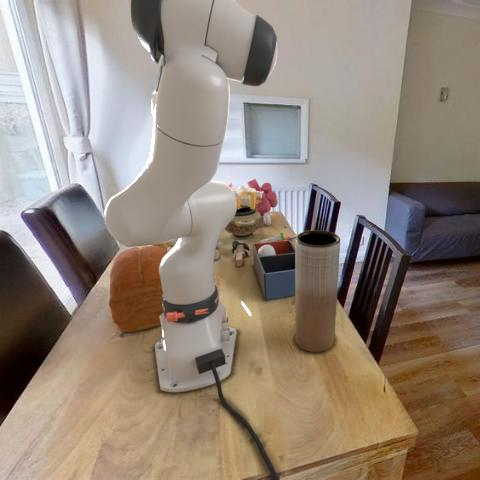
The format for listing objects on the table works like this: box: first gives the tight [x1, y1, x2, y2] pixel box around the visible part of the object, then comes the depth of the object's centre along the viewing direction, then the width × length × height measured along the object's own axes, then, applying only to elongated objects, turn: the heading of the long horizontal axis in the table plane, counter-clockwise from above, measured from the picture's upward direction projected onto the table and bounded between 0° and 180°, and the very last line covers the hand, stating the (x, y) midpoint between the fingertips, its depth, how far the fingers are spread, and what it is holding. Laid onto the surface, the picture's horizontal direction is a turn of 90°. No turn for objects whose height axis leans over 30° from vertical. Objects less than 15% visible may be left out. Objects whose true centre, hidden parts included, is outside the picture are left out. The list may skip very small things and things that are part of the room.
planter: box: [294, 229, 341, 353], centre depth 73 cm, size 10×10×28 cm
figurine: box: [152, 238, 179, 253], centre depth 132 cm, size 13×25×6 cm, turn 154°
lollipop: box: [258, 245, 275, 257], centre depth 109 cm, size 6×6×15 cm
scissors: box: [284, 233, 299, 240], centre depth 139 cm, size 8×21×2 cm, turn 154°
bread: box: [108, 245, 168, 333], centre depth 88 cm, size 16×27×16 cm, turn 29°
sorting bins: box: [251, 239, 295, 301], centre depth 105 cm, size 24×14×9 cm, turn 19°
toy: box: [247, 178, 279, 227], centre depth 159 cm, size 28×30×15 cm
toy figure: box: [231, 240, 252, 267], centre depth 120 cm, size 7×6×15 cm
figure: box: [232, 183, 264, 209], centre depth 136 cm, size 17×18×9 cm
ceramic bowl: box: [224, 207, 263, 240], centre depth 140 cm, size 24×18×15 cm
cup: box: [257, 232, 285, 243], centre depth 126 cm, size 8×8×15 cm
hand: (207, 182), depth 101 cm, fingers open, 8 cm apart
